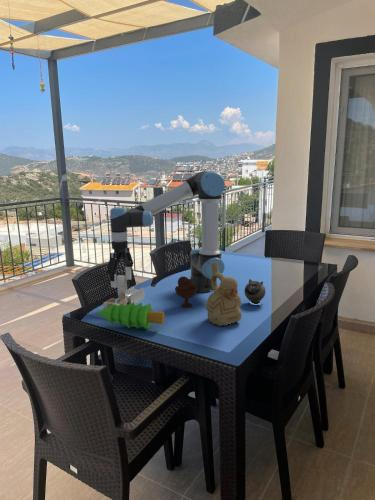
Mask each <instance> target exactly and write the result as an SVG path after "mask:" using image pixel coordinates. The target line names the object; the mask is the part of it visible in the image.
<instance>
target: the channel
mask: <svg viewBox="0 0 375 500" xmlns="http://www.w3.org/2000/svg"><path fill="white" fill-rule="evenodd" d="M135 289H136V288H135V286H131V287H129V288H127V293H130V292H131V291H133V290H135ZM145 295H146V294H145V287H141V288H139V289H138V290H137V291H136V292H134V293H133V294H131V295H130V296H129V302H128V303H127V305H129V304H131V303H134V304H135V305H136V304H137V303H138V304H139V303H140V302H141V301H142V300H144V299H145ZM118 299H120V298H118Z"/></svg>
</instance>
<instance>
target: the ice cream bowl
mask: <svg viewBox="0 0 375 500" xmlns="http://www.w3.org/2000/svg"><path fill="white" fill-rule="evenodd" d="M174 289H175V290H174V291H175V294H177V296H179V297H180V298H182V299H183V300H184V302H183V303H182V304H181V305H180V307H181V308H184V309H189V308H192V307H193V304H192V303H190V302H189V299H191V298H192V297H194V296H195V295H196V293H197V292H196V291H197V286H195V283H194V281H193V280H191V279H190V278H188V277H187V276H185V275H184V276H180V277H179V278H178V279H177V286H175V288H174Z"/></svg>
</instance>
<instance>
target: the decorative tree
mask: <svg viewBox="0 0 375 500" xmlns="http://www.w3.org/2000/svg"><path fill="white" fill-rule="evenodd" d="M96 314H98V315H100V317H102V318H103V319H105V320H106V321H108V322H109V323H110V324H114V323H115V322H116V323H117V324H118V325H122V324H123V325H124V326H125V327H127V328H128V329H130V328H132V327H133V326H134V327H135V328H136V329H140V328H141V327H143V328H144V329H145V330H149V328H150V327H151V323H153V324H158V325H159V324H160V325H163V324H164V322H165V311H153V308H152V305H151V303H147V304H145V305H143V303H142V302H139V303H138V304H137V305H136V304H134V303H131V304H129V305H126V306H124V304H121V305H119V306H116V304H114V305H112V306H109V307H107V308H105V309H103V308H102V309H100V310H98V311H96ZM132 325H133V326H132ZM131 326H132V327H131Z"/></svg>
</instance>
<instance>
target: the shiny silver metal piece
mask: <svg viewBox="0 0 375 500" xmlns="http://www.w3.org/2000/svg"><path fill="white" fill-rule="evenodd" d="M116 282H117V298H118V299H117V301H116V303H118V302H120V301H122V300H123V299H124V300H127V303H128V302H129V296H130V295H131V294H133V293H134V292H136V291H137V290H139V289H138V288H135V290H133V291H131V292H130V293H127V289H128V280H127V276H126V275H122V274H118V275H116ZM119 298H120V299H119Z"/></svg>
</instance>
